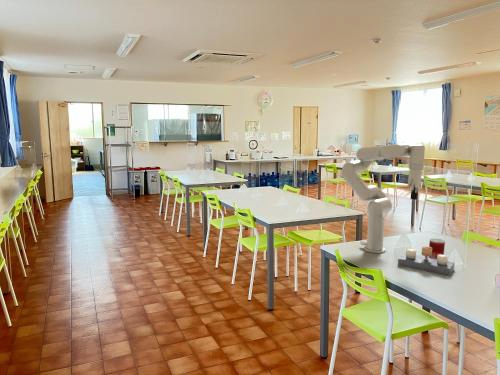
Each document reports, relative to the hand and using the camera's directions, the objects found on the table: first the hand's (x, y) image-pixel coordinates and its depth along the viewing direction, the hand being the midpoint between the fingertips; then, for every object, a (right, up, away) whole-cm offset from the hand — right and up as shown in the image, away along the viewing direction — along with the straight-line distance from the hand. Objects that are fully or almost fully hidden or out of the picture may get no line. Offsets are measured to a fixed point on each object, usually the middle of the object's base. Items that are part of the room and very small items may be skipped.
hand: (413, 199), depth 232 cm
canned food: (+15, -35, +6) cm, 39 cm away
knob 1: (-3, -35, -4) cm, 36 cm away
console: (+3, -37, -9) cm, 38 cm away
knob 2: (+9, -37, -13) cm, 40 cm away
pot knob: (+3, -33, -9) cm, 34 cm away
